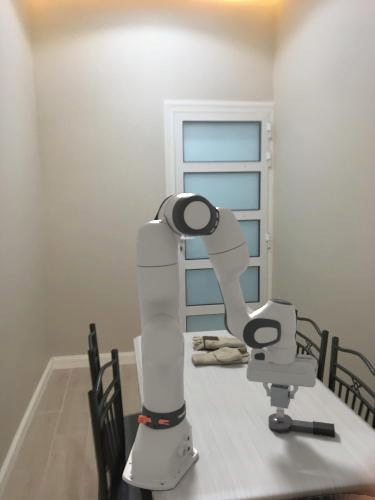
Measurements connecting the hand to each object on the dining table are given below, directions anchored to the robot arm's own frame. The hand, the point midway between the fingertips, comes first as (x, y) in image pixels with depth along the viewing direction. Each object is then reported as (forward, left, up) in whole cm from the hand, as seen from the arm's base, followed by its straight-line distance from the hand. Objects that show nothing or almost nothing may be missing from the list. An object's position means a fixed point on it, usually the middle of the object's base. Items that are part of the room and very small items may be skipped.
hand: (280, 396), depth 122 cm
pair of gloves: (+55, +30, -10) cm, 63 cm away
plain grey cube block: (0, 0, -2) cm, 2 cm away
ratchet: (0, -6, -10) cm, 11 cm away
